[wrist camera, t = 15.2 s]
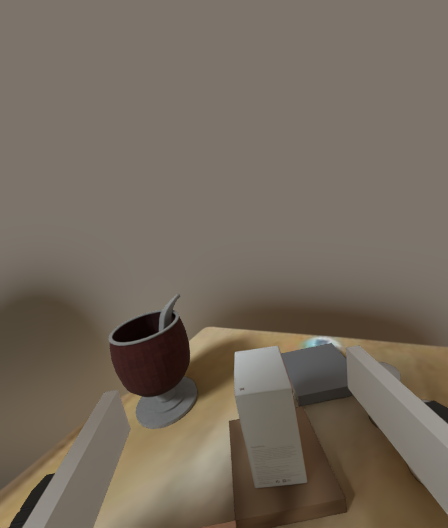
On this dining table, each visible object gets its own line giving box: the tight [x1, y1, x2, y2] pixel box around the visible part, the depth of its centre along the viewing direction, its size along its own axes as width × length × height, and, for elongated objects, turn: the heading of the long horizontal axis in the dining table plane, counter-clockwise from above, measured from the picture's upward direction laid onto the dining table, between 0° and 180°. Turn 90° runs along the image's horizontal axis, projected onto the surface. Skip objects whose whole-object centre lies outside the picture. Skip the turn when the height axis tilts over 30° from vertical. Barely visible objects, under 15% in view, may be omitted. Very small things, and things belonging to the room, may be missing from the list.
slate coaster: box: [281, 343, 353, 406], centre depth 43 cm, size 12×12×2 cm
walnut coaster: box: [229, 406, 347, 528], centre depth 30 cm, size 12×12×2 cm
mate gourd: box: [109, 294, 197, 429], centre depth 44 cm, size 16×14×20 cm
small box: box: [234, 346, 308, 488], centre depth 28 cm, size 8×6×13 cm
